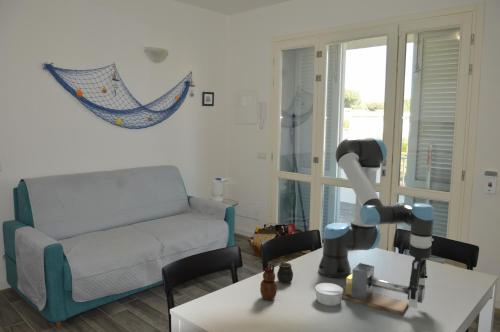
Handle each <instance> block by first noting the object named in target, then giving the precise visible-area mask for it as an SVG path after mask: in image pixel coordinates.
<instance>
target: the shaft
mask: <svg viewBox="0 0 500 332" xmlns="http://www.w3.org/2000/svg"><path fill="white" fill-rule="evenodd" d="M368 285H371V286H373V287H375V288H379V289H383V290H388V291H391V292H396V293H400V294H404V295H407V300H408V301H409V295H410V290H409V289H408V287H409V285H408V286H407V285H403V284H399V283H394V282H391V281H387V280H382V279H378V278H370V277H369V284H368ZM412 287H413V286H412ZM425 289H426V285H425V286H424V285H420V284H418V300H417V303H420V304H422V303H423V302H424V299H425V293H426V292H425V291H426V290H425Z"/></svg>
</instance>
